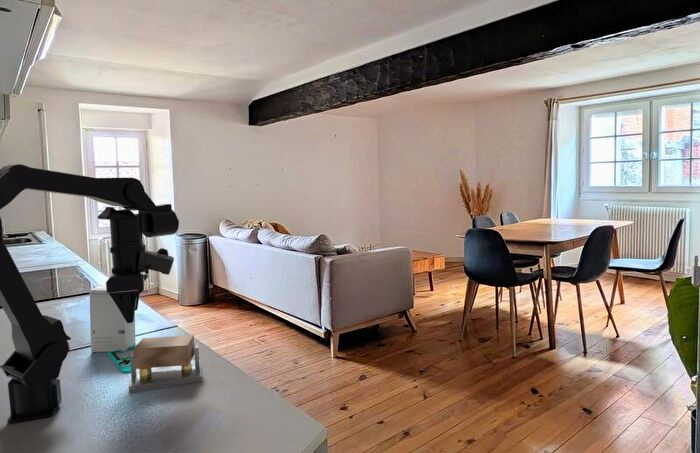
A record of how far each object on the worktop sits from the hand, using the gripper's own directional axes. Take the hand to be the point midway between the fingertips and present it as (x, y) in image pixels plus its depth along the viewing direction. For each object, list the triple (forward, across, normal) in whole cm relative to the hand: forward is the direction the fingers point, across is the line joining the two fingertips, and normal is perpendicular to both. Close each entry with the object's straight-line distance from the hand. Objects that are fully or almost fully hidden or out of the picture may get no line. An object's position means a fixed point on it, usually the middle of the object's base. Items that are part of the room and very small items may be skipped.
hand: (132, 316), depth 93 cm
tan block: (+8, -5, -6) cm, 12 cm away
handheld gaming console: (+13, +9, +1) cm, 16 cm away
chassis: (+12, -5, -6) cm, 14 cm away
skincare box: (+12, +18, +6) cm, 23 cm away
